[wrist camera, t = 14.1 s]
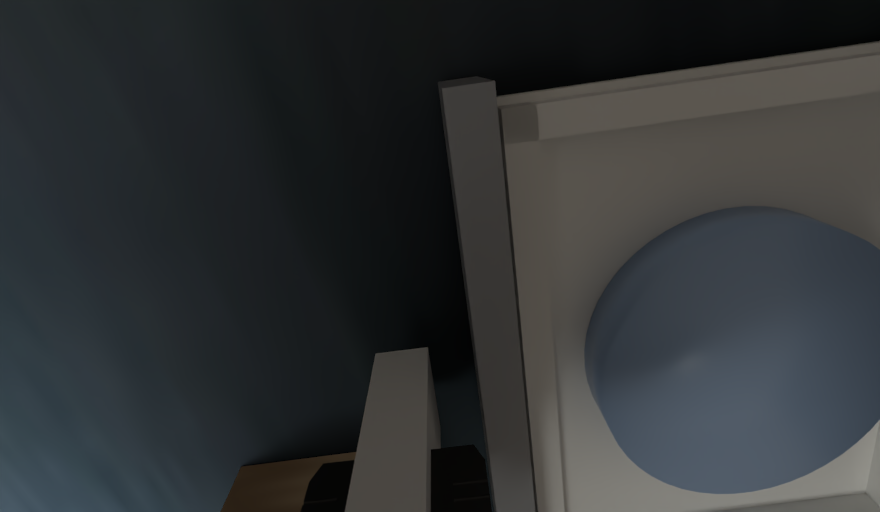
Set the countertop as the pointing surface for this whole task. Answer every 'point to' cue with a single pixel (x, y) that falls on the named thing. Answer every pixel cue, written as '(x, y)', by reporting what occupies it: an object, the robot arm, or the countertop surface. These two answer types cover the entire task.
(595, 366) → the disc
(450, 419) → the countertop surface
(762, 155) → the tray
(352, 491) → the robot arm
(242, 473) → the block
